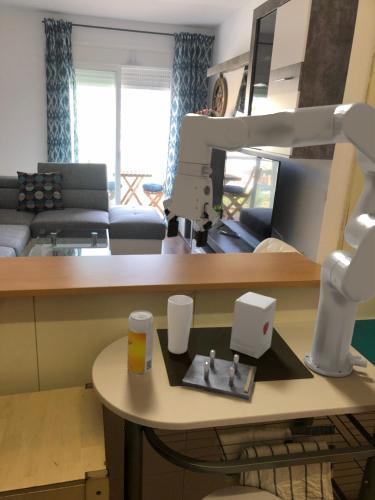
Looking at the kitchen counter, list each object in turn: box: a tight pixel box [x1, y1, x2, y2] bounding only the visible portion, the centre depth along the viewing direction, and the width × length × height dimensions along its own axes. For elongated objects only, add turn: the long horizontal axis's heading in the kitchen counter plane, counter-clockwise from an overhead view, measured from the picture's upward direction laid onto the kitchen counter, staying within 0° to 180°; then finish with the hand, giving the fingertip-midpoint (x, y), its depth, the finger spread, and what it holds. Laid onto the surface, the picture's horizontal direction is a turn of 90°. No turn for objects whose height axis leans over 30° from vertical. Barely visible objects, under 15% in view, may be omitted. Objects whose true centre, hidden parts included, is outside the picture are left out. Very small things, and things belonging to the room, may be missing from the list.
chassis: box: [181, 349, 257, 401], centre depth 103 cm, size 16×13×5 cm
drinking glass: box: [166, 294, 194, 355], centre depth 114 cm, size 7×7×15 cm
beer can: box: [126, 309, 155, 376], centre depth 103 cm, size 6×6×15 cm
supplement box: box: [229, 291, 277, 360], centre depth 117 cm, size 9×9×15 cm
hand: (186, 241), depth 102 cm, fingers open, 9 cm apart
